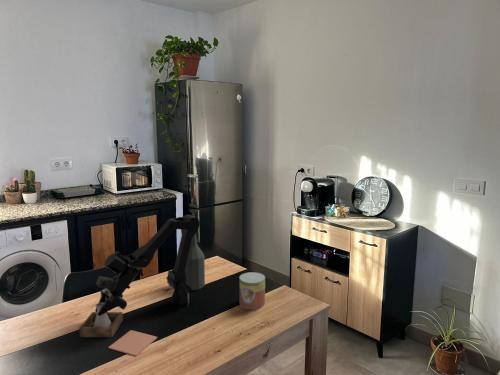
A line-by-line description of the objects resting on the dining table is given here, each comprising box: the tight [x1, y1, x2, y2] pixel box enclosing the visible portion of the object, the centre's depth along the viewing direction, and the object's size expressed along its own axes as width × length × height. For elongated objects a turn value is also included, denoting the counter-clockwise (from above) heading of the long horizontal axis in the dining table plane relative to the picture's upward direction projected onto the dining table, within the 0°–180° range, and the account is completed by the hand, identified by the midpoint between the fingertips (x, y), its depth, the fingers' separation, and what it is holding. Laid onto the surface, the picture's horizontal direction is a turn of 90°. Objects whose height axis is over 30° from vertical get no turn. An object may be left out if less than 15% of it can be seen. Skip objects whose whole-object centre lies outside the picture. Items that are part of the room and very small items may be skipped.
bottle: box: [185, 233, 206, 291], centre depth 181 cm, size 10×10×30 cm
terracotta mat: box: [107, 329, 158, 357], centre depth 137 cm, size 12×12×1 cm
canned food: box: [238, 271, 266, 310], centre depth 166 cm, size 11×11×12 cm
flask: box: [92, 302, 113, 327], centre depth 145 cm, size 7×7×10 cm
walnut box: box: [78, 311, 124, 338], centre depth 146 cm, size 12×12×4 cm
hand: (97, 313), depth 144 cm, fingers closed on flask, 3 cm apart
